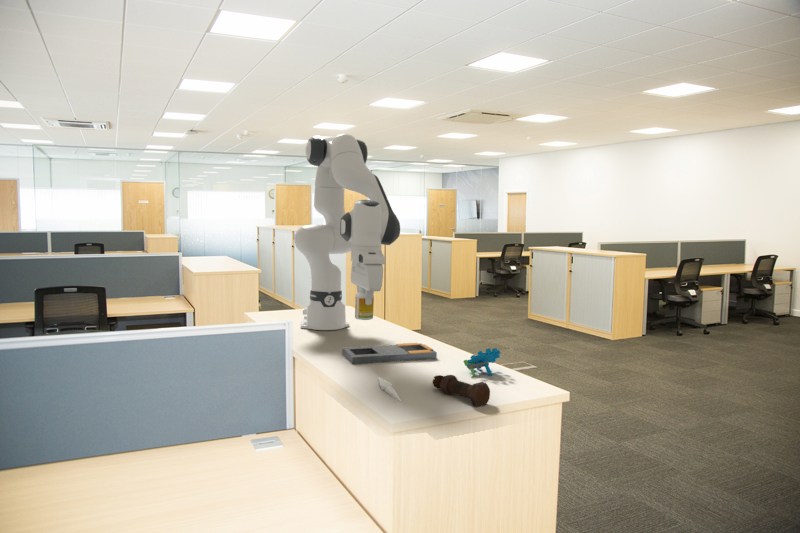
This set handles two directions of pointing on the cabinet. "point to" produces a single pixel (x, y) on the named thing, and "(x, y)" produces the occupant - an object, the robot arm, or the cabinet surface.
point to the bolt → (463, 389)
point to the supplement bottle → (363, 306)
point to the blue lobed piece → (482, 360)
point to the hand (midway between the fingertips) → (364, 302)
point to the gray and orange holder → (388, 353)
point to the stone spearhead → (388, 388)
